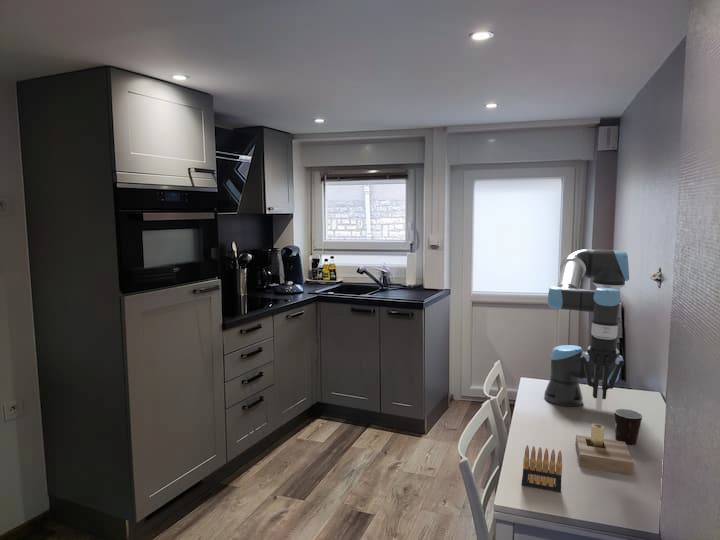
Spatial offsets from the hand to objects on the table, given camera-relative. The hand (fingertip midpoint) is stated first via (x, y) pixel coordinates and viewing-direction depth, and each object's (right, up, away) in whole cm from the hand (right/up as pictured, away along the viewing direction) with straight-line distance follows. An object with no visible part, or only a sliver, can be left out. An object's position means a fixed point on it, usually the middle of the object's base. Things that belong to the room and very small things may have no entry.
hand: (598, 407), depth 165 cm
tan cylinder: (0, -16, +2) cm, 16 cm away
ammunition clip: (-25, -18, -19) cm, 36 cm away
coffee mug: (+15, -15, +12) cm, 25 cm away
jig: (+1, -16, -1) cm, 16 cm away
